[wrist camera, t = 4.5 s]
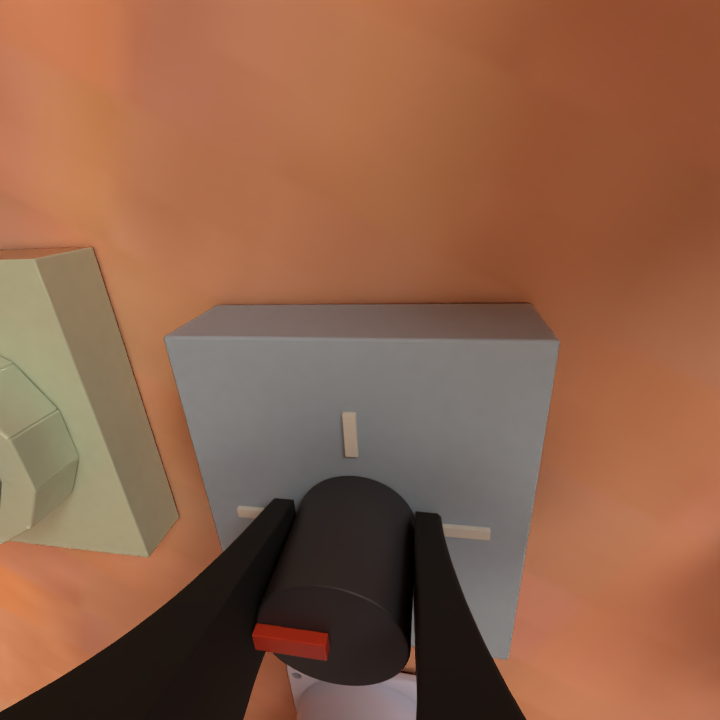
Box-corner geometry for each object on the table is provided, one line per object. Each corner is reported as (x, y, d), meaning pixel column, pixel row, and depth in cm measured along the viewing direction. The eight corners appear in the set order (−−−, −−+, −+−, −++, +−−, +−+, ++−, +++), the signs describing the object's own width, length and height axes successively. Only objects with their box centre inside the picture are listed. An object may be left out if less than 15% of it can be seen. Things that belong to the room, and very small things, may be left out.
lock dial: (417, 479, 11) (409, 612, 8) (416, 568, 13) (409, 713, 9) (294, 470, 12) (237, 589, 8) (307, 556, 13) (263, 687, 10)
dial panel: (496, 582, 17) (509, 666, 14) (269, 557, 18) (238, 626, 15) (532, 302, 12) (563, 343, 9) (216, 303, 13) (157, 338, 11)
